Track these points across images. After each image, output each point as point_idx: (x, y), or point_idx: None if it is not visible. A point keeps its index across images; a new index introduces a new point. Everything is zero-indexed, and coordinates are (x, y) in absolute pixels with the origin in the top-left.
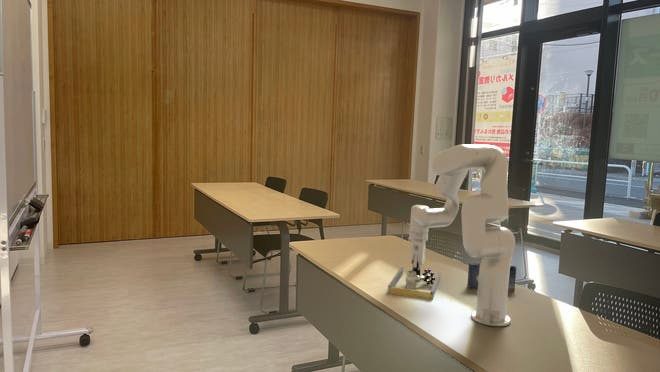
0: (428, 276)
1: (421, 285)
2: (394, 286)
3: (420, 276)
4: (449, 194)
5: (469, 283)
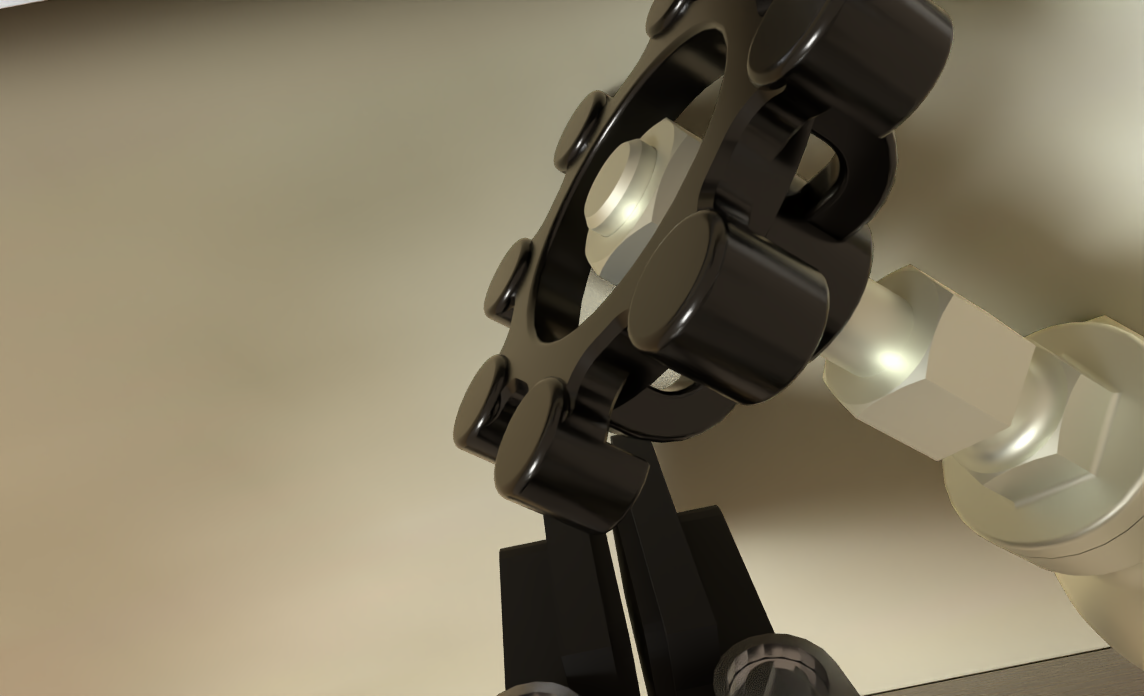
0: (886, 173)
1: None
2: None
3: (988, 420)
4: None
5: None
